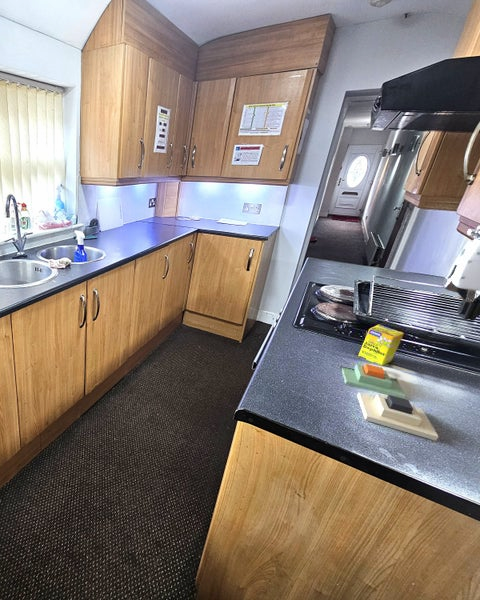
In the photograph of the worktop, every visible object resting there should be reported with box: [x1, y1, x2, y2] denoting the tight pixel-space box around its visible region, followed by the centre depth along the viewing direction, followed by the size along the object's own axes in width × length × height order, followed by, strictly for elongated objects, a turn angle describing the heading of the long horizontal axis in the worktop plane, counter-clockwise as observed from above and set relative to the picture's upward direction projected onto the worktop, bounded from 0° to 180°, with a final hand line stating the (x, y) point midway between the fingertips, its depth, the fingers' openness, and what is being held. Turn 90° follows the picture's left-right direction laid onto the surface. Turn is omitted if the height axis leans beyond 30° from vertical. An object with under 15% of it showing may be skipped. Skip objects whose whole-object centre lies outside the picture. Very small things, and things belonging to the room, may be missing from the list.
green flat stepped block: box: [340, 363, 407, 399], centre depth 88 cm, size 12×10×3 cm
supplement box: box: [357, 323, 405, 367], centre depth 95 cm, size 6×6×11 cm
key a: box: [386, 395, 413, 414], centre depth 75 cm, size 4×4×2 cm
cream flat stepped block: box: [357, 391, 439, 442], centre depth 76 cm, size 12×10×3 cm
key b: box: [363, 363, 386, 379], centre depth 87 cm, size 4×4×2 cm
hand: (466, 317), depth 74 cm, fingers closed
